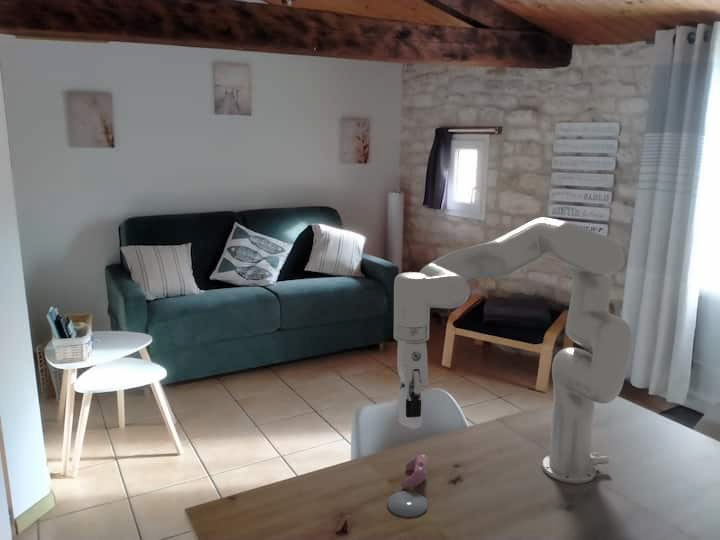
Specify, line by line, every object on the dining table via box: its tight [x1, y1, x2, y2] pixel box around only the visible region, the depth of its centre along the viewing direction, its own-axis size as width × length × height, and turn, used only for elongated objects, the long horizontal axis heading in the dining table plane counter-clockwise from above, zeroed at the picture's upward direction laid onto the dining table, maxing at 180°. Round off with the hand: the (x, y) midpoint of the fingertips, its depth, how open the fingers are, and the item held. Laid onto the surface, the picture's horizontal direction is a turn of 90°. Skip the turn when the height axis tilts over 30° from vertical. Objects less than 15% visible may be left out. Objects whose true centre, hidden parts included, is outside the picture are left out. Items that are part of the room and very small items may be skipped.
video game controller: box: [401, 453, 430, 490], centre depth 147 cm, size 10×5×7 cm, turn 169°
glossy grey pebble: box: [387, 490, 429, 518], centre depth 137 cm, size 9×9×1 cm
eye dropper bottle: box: [397, 383, 423, 430], centre depth 132 cm, size 4×6×12 cm
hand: (410, 409), depth 132 cm, fingers closed on eye dropper bottle, 5 cm apart
